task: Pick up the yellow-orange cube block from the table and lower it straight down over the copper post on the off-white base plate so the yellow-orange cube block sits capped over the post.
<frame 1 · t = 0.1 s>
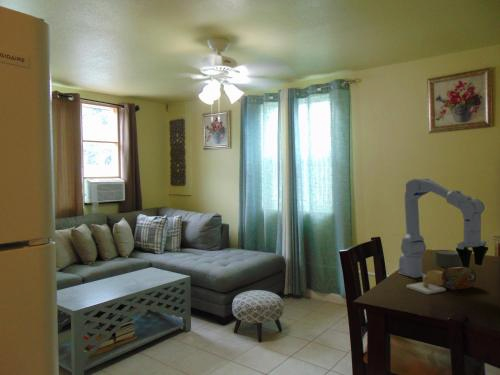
hand: (472, 265, 141), 10 cm above the table, tool pointing down, fingers open, 7 cm apart
tin: (458, 288, 146), on the table
base plate: (425, 289, 145), on the table
can: (447, 266, 183), on the table
yellow-orange cube block: (436, 283, 152), on the table
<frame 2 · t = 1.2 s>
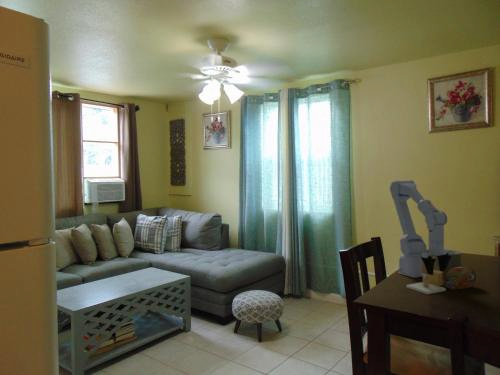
hand: (436, 273, 152), 4 cm above the table, tool pointing down, fingers open, 7 cm apart
nothing on the table moved.
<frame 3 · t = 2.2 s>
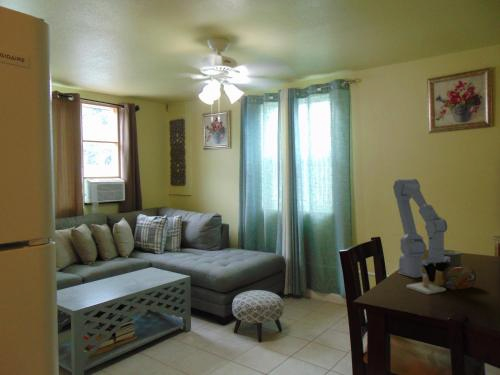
hand: (436, 280, 152), 1 cm above the table, tool pointing down, fingers closed on yellow-orange cube block, 5 cm apart
yellow-orange cube block: (436, 283, 152), on the table, touching gripper
everything else where it was.
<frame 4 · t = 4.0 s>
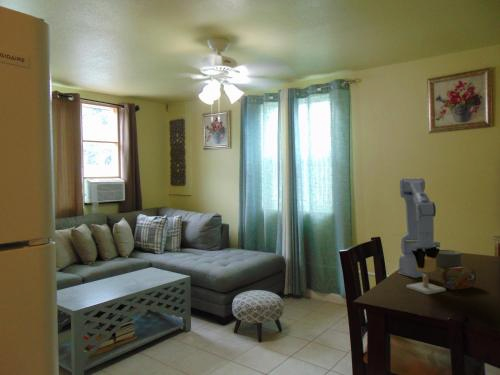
hand: (425, 266, 145), 9 cm above the table, tool pointing down, fingers closed on yellow-orange cube block, 5 cm apart
yellow-orange cube block: (425, 270, 145), point 7 cm above the table, touching gripper
everything else where it was.
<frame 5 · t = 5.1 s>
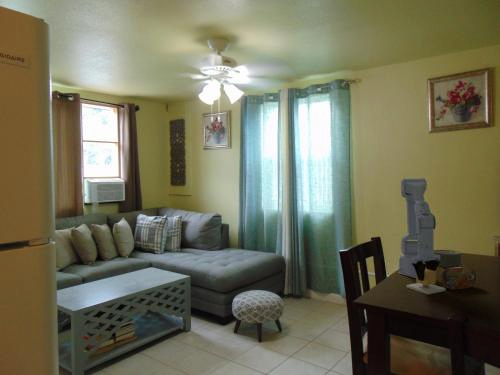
hand: (425, 279, 145), 4 cm above the table, tool pointing down, fingers closed on yellow-orange cube block, 5 cm apart
yellow-orange cube block: (425, 282, 145), point 3 cm above the table, touching gripper
everything else where it was.
when the fingers open (3 cm above the table, at t = 5.8 s): yellow-orange cube block stays where it is, resting on base plate.
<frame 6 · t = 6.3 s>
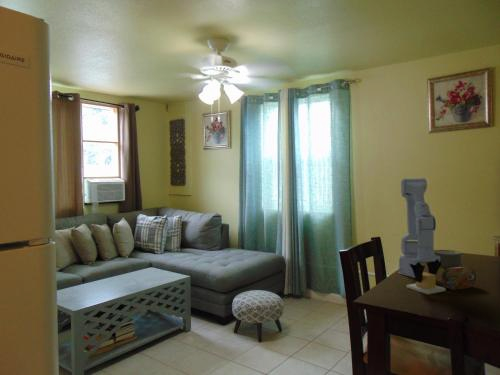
hand: (425, 280, 145), 3 cm above the table, tool pointing down, fingers open, 7 cm apart
yellow-orange cube block: (425, 286, 145), point 1 cm above the table, touching base plate
everything else where it was.
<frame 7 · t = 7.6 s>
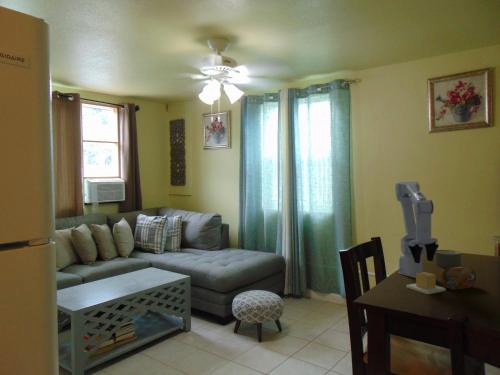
hand: (423, 261, 151), 9 cm above the table, tool pointing down, fingers open, 7 cm apart
nothing on the table moved.
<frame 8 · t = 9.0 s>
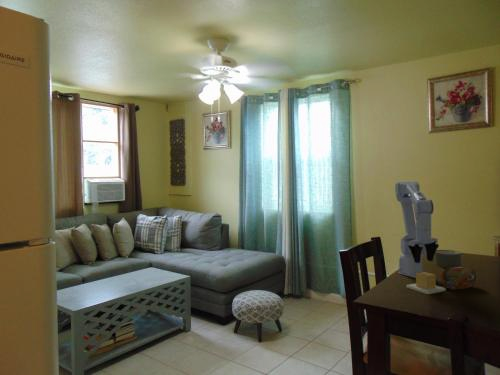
hand: (423, 261, 151), 9 cm above the table, tool pointing down, fingers open, 7 cm apart
nothing on the table moved.
at the end: yellow-orange cube block 0.1 cm from the base plate (horizontally); yellow-orange cube block point 1.0 cm above the table; yellow-orange cube block tilted 0° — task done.
